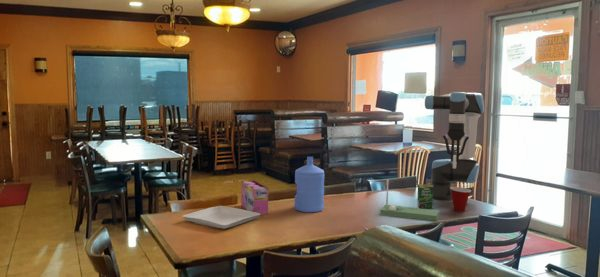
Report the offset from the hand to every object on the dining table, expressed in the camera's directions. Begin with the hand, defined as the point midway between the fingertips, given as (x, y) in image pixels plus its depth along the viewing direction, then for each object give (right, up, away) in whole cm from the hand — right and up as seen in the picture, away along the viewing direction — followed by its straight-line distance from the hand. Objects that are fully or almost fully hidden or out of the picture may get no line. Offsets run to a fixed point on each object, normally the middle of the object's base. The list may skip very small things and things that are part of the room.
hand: (454, 168), depth 243 cm
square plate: (-117, -25, -18) cm, 121 cm away
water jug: (-75, -23, +8) cm, 79 cm away
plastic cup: (+7, -24, +11) cm, 27 cm away
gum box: (-104, -23, +5) cm, 106 cm away
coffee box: (-11, -23, +15) cm, 30 cm away
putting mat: (-23, -24, 0) cm, 33 cm away
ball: (-31, -22, +2) cm, 38 cm away
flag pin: (-34, -21, +8) cm, 40 cm away
